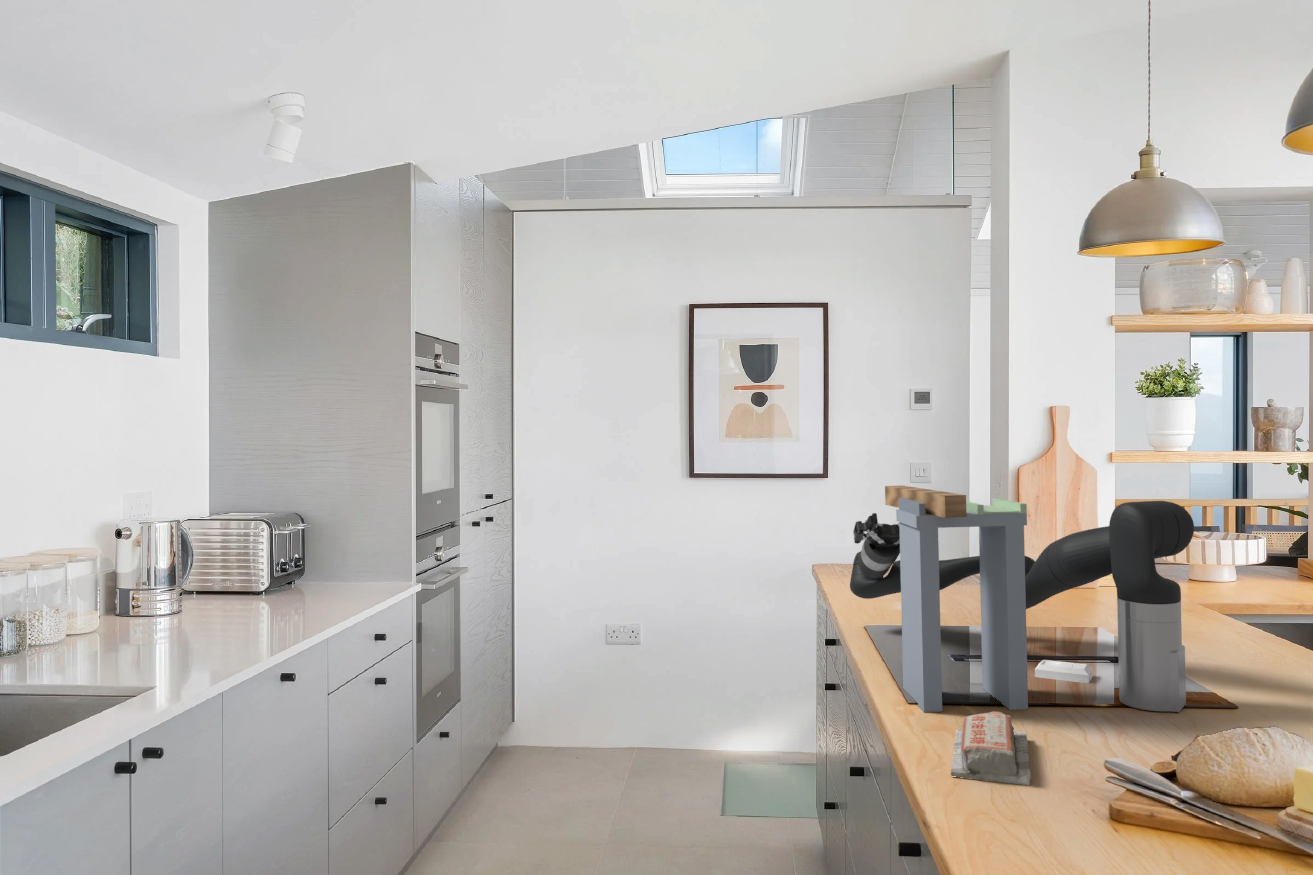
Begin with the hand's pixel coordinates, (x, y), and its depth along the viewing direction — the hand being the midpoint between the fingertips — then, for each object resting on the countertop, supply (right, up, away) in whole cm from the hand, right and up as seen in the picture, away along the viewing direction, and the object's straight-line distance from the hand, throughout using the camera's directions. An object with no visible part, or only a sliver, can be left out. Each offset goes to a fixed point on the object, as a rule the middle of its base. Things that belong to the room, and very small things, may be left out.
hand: (897, 517), depth 176 cm
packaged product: (0, -30, -50) cm, 58 cm away
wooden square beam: (-1, +3, -20) cm, 21 cm away
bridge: (+5, -29, -23) cm, 37 cm away
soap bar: (+28, -29, -11) cm, 41 cm away
